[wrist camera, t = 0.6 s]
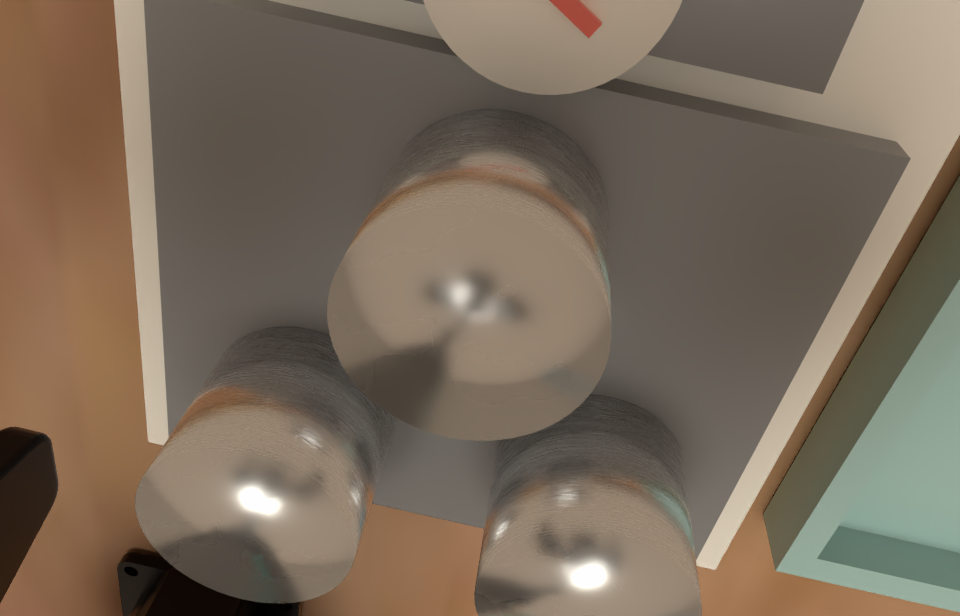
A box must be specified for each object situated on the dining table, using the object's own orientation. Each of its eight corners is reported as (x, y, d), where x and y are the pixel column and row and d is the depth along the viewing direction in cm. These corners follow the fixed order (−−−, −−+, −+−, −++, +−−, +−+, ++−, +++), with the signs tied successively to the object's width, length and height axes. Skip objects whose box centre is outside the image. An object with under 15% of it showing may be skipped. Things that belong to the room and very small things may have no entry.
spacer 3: (650, 545, 20) (660, 693, 17) (480, 507, 20) (457, 648, 17) (710, 419, 18) (736, 563, 15) (516, 375, 18) (497, 509, 15)
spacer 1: (386, 486, 20) (344, 621, 17) (215, 447, 20) (141, 576, 17) (408, 350, 18) (365, 480, 15) (214, 307, 18) (127, 426, 15)
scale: (707, 514, 23) (722, 615, 21) (179, 395, 23) (121, 480, 21) (1030, -108, 14) (1140, -80, 11) (149, -306, 14) (34, -328, 11)
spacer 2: (576, 332, 17) (571, 464, 14) (372, 286, 17) (318, 408, 14) (637, 138, 14) (649, 244, 11) (398, 84, 14) (338, 174, 11)
